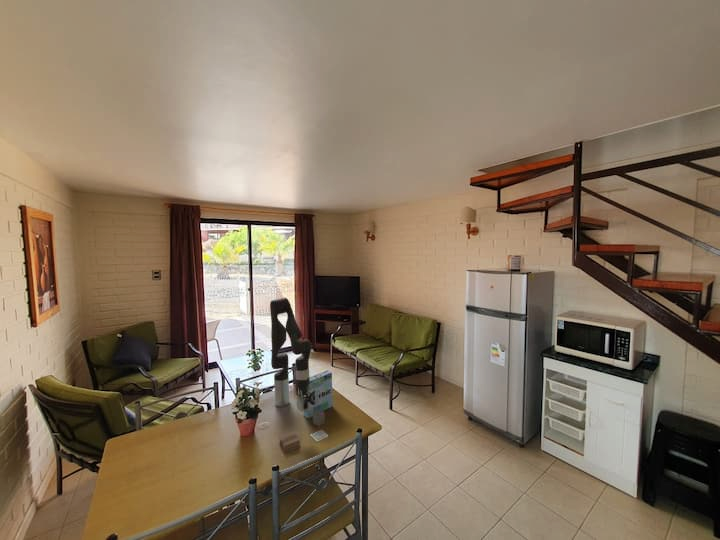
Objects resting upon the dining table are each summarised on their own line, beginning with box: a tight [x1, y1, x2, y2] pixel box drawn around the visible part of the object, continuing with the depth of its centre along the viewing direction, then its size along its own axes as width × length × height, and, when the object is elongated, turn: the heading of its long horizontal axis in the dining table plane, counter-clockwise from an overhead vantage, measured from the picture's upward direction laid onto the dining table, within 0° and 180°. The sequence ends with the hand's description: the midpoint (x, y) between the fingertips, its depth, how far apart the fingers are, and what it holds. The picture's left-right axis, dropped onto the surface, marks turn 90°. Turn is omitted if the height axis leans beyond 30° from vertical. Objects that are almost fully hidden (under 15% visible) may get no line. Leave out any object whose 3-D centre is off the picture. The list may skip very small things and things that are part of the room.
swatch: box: [310, 429, 329, 443], centre depth 156 cm, size 7×7×1 cm
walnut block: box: [279, 431, 301, 454], centre depth 149 cm, size 8×8×4 cm
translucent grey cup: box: [312, 410, 326, 427], centre depth 168 cm, size 5×5×6 cm
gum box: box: [303, 370, 334, 419], centre depth 180 cm, size 20×5×23 cm, turn 134°
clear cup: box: [296, 396, 310, 413], centre depth 157 cm, size 5×5×6 cm
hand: (303, 406), depth 157 cm, fingers closed on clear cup, 5 cm apart
